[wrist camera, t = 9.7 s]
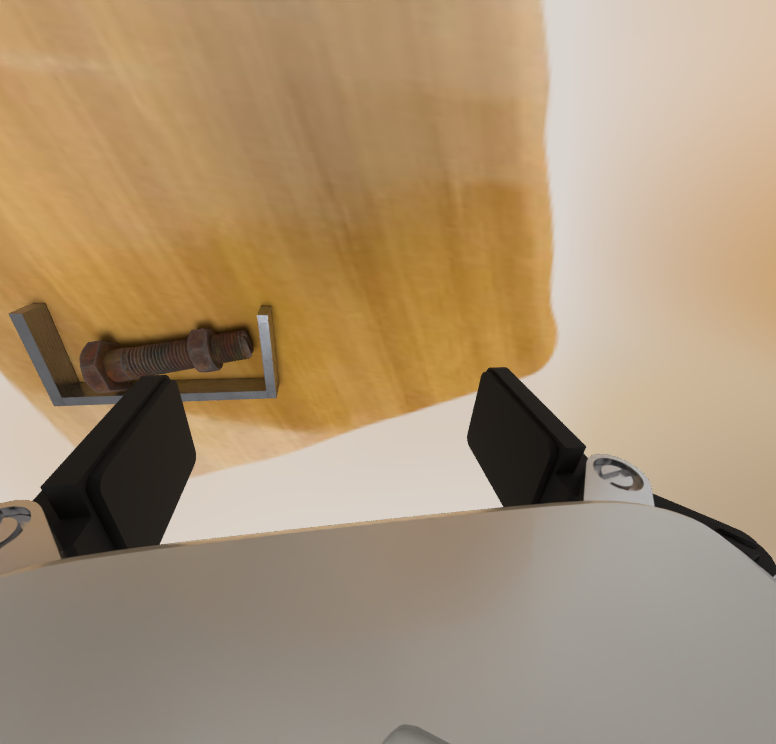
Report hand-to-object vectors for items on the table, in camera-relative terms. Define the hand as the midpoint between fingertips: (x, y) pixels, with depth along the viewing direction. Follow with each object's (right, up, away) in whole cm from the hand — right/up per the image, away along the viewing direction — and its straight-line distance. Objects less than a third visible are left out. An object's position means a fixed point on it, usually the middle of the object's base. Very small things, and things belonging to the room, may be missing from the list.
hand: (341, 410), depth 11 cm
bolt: (-21, +4, +27) cm, 35 cm away
